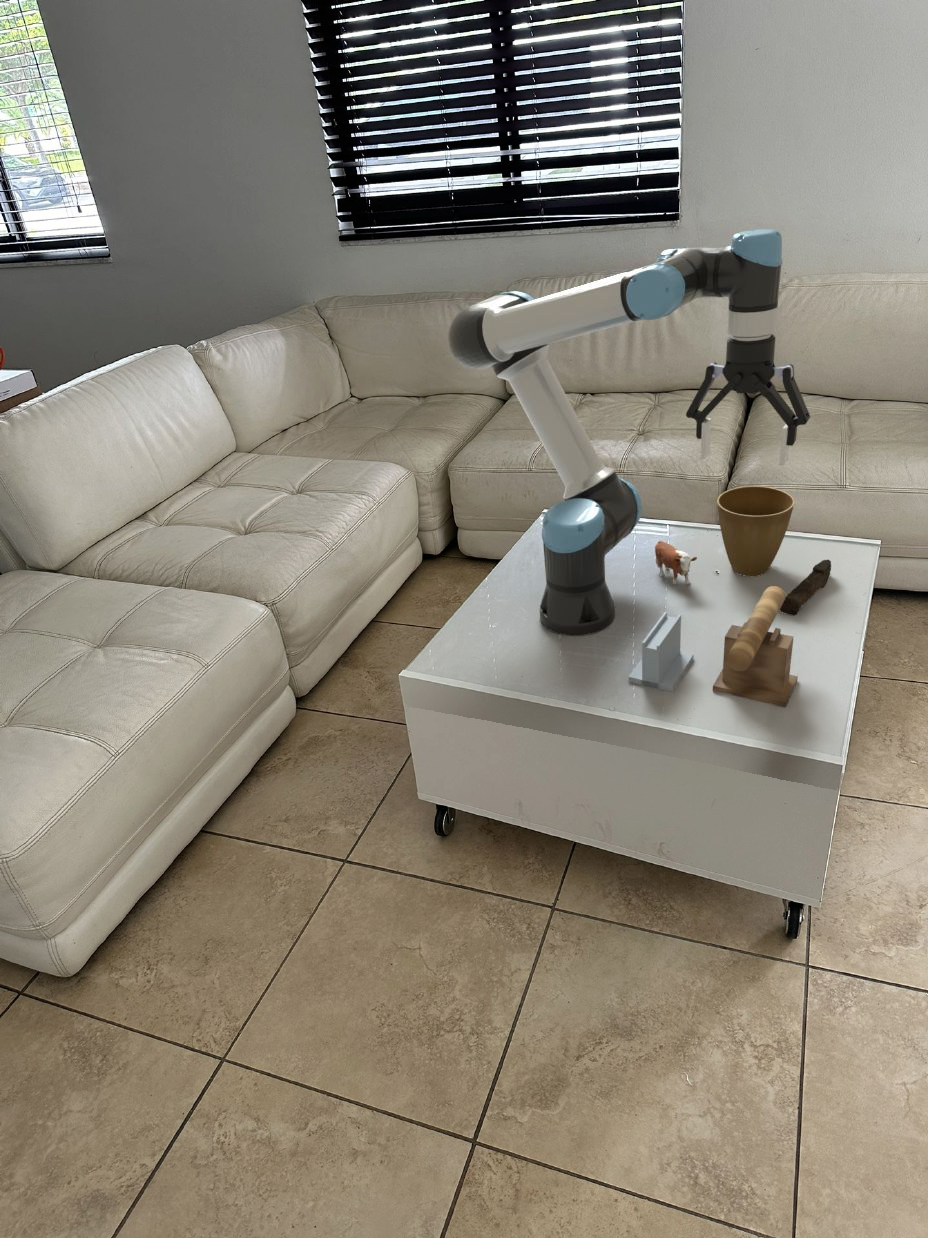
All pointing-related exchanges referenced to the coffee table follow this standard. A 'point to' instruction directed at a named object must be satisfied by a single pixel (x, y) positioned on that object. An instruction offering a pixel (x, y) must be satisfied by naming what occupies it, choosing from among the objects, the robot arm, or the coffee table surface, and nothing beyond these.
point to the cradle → (662, 656)
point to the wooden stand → (760, 670)
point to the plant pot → (753, 526)
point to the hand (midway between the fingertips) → (743, 459)
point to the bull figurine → (673, 561)
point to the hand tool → (807, 588)
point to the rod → (755, 629)
